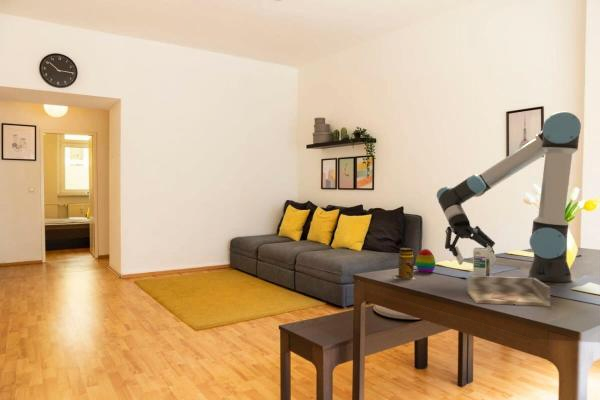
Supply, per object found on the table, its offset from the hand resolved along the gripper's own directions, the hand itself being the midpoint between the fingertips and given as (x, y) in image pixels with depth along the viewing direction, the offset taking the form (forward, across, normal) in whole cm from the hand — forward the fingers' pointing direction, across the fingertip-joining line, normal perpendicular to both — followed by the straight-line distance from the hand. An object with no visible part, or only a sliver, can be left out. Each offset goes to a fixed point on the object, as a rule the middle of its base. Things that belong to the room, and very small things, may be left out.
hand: (478, 262), depth 167 cm
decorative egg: (-14, +6, -27) cm, 31 cm away
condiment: (-7, +21, -21) cm, 30 cm away
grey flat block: (+20, +2, +7) cm, 21 cm away
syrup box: (+8, -1, -5) cm, 9 cm away
